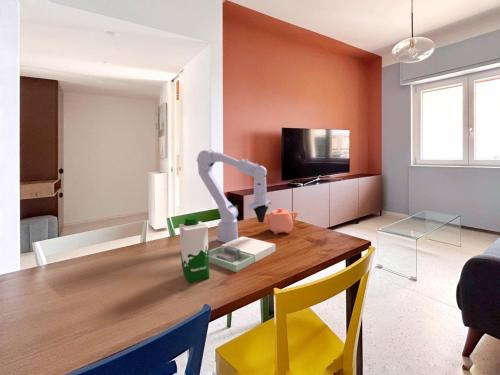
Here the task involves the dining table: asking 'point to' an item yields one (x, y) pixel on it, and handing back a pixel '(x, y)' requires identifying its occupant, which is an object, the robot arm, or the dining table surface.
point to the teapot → (280, 221)
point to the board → (252, 247)
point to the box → (235, 266)
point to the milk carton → (194, 249)
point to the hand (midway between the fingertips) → (260, 221)
